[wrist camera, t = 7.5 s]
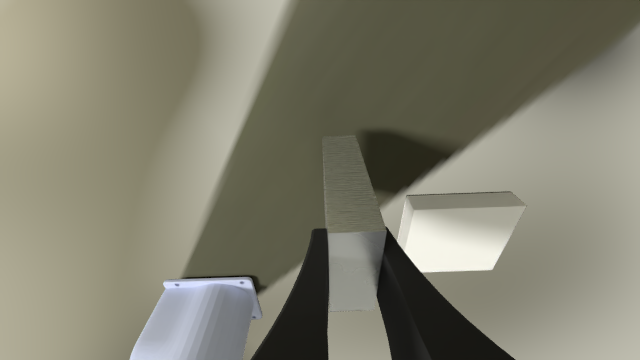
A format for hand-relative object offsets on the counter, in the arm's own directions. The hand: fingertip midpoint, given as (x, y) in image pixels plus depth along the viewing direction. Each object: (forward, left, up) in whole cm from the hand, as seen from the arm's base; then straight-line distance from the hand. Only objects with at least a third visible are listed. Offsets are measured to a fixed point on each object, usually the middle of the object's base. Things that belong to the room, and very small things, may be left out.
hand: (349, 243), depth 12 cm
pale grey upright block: (0, 0, -6) cm, 6 cm away
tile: (+6, -9, -8) cm, 13 cm away
